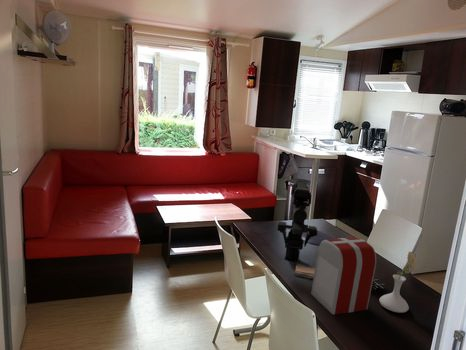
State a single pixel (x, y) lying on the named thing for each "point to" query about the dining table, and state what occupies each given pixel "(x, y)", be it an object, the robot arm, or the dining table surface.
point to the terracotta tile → (305, 270)
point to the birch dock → (304, 273)
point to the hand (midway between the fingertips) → (294, 245)
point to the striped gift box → (344, 274)
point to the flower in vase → (394, 298)
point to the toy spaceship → (318, 238)
